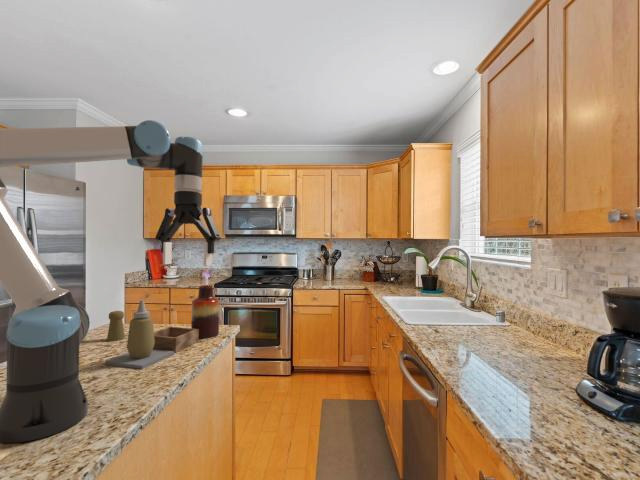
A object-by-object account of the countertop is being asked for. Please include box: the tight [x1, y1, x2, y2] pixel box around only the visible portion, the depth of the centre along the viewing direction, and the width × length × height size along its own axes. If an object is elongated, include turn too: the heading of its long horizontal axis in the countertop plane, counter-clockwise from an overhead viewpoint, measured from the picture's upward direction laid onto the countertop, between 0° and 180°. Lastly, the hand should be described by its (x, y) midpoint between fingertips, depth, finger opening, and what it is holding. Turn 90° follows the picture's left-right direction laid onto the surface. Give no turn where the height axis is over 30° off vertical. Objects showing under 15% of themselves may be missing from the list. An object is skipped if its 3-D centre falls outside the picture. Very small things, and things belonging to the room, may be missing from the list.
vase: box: [190, 285, 220, 340], centre depth 137 cm, size 11×11×20 cm
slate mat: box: [104, 349, 175, 370], centre depth 107 cm, size 14×14×1 cm
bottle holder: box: [153, 326, 200, 354], centre depth 122 cm, size 13×13×5 cm
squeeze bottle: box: [126, 300, 155, 359], centre depth 107 cm, size 8×8×18 cm
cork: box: [106, 310, 126, 342], centre depth 130 cm, size 6×6×11 cm
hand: (187, 264), depth 95 cm, fingers open, 13 cm apart
